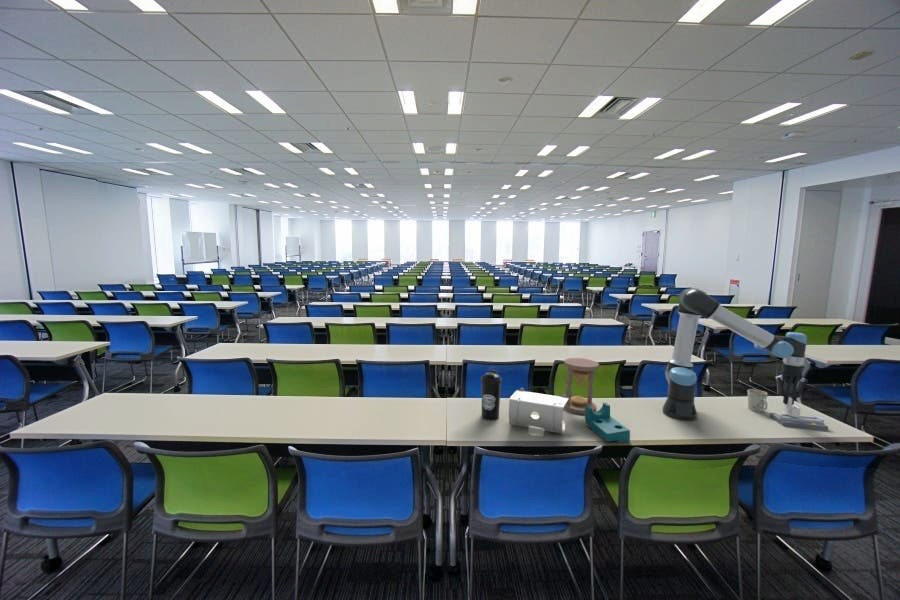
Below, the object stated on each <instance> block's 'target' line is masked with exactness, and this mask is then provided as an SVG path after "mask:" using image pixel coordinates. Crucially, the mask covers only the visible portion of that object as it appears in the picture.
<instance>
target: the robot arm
mask: <svg viewBox="0 0 900 600" xmlns="http://www.w3.org/2000/svg"><path fill="white" fill-rule="evenodd" d="M677 300H678V308H677V313H678V314H679V320H678V325H677V329H676V330H677V331H676V337H675V341H674V346H673V352H672V356H671V358H669V359H668V361H667V366H666V368H665V370H664V377H665V379H666V381H667V384H668V387H667V397H666V399H665V402H664V404H663V406H662V413H664V415H665V416H668V417H671V418H673V419H677V420H680V421H681V420H682V421H694V420H697V418H698V412H697V408H696V404H695V397H696V395H695V394H696V385H697V381H698V380H697V373H696V372H695V371H693V368H694V364H693V363H692V361H691V360H692V357H693V350H694V347H695V346H694V345H695V340H696V335H697V330H698V325H699V320H700V318H701V317H703V318H705V319H707V320H709V319H710V320H712V321H714V322H716V323H718V324H720V325H721V326H723V327H725V328H726V329H729V330H730V331H731V332H733V333H735V334H737V335H739V336H741V337H742V338H744V339H746V340H747V341H749V342H751V343H753V346H754V348H755V349H757V350H761V351H767V352H769V353H770V354H773V356H775V357H777V358H779V359H780V358H781V359H782V362H783V363H782V368H781V373H780V375H778V376H777V375H775V376H774V378H775V381H776V384H777V391H778V394H779V396H781V397H783V399H782V404H784V407H783V409H784V411H785V412H786V411H790V412H791V407H792V405H795V400H796V399H800V397H801V395H802V392H803V390H804V388H805V386H806V384H807V383H808V382H809V380H808V379H806V378H804V376H803V372H804V366H803V365H805V357H806V355H805V354H806V349H807V343H808V342H807V341H808V340H807V339H808V337H807V335H806V334H805V333H801V332H795V331H792V332H791V331H788V332H786V333H785V335H774V334H772V333H770V332H769V331H768V330H765V329H763V328H762V327H760V326H758V325H756V324H754V323H753V322H751V321H749V320H747V319H746V318H744V317H741V316H740V315H738V314H737V313H735V312H734V311H731V310H729V309H727V308H725V307H723V306H722V305H721V302H719V301H717V300H716V299H715V298H713V297H711V296H710V295H709V294H707V293H706V292H705V291H704V290H701V289H698V288H695V287H692V288H691V287H690V288H686V289H684V290H683V291H681V292H680V294H679V295H678V298H677ZM783 380H784V381H783Z"/></svg>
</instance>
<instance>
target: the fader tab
mask: <svg viewBox="0 0 900 600" xmlns="http://www.w3.org/2000/svg"><path fill="white" fill-rule="evenodd" d="M785 414H788V417H795V418H797V417H800V415H801V407H799V406H797V405H795V404H793V405H792V407H791V412H790V411H786V410H785Z"/></svg>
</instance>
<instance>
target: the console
mask: <svg viewBox="0 0 900 600" xmlns="http://www.w3.org/2000/svg"><path fill="white" fill-rule="evenodd" d="M769 417H770V418H771V419H773V420H774V421H775V422H776V423H778V424H780V425H781V426H783V427H791V428H800V429H801V428H802V429H811V430H818V431H819V430H820V431H828V430H829V425H826V424H825V419H823V418H822V417H820V416H818V415H814V416H811V415H803V414H802V415H801V414H800V417H797V418H795V417H788V414H787V413H783V412H782V413H781V412H778V411H773V412H770V413H769Z"/></svg>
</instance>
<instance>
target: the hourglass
mask: <svg viewBox="0 0 900 600" xmlns="http://www.w3.org/2000/svg"><path fill="white" fill-rule="evenodd" d="M563 365H564V367H566V368H567V373H566V374H567V375H566V385H567V387H566V389H565V394H566V397H567V398H569V400H568V401H567V403H566V404H565V406H564V410H565V411H567V412H570V413H573V414H577V415H585V405H588V406H590V407H591V408H592V411H593V412H597V405H596V404H595V403H594V402H593V393H594V386H593V383H594V380H595V374H594V372H595V371H597V370H599V368H600V364H599V362H597V361H595V360H592V359H587V358H581V357H580V358H579V357H570V358H566V359H564V361H563ZM573 377H574V379H575V380H576V382H577V383H578V387H582V386H583V383H585V381H586V380H588V385H587V390H586V391H587V394H586V395H587V398H586V397H583V396H581V395H575V396H572V394H573V392H572V382H573Z"/></svg>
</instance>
